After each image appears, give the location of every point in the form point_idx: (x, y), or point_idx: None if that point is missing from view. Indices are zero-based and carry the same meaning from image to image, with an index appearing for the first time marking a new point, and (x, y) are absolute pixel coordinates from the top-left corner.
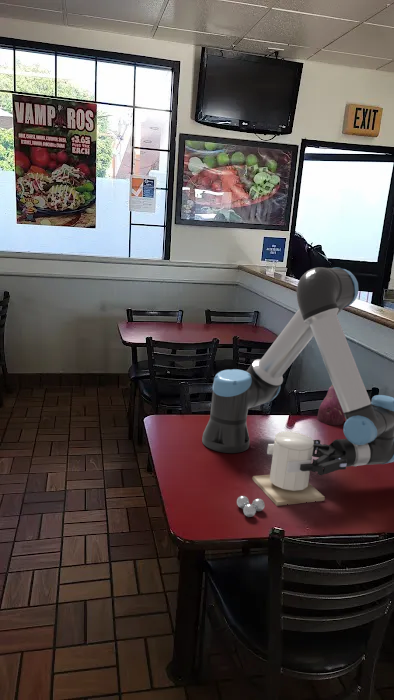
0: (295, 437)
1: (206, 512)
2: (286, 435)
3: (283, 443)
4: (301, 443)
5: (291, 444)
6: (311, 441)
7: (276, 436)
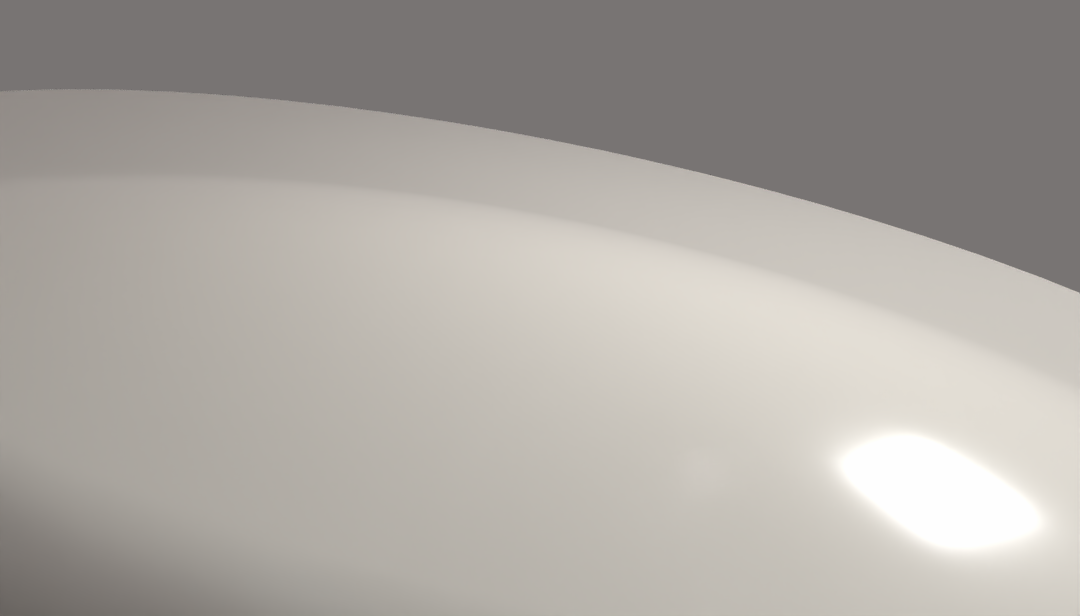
0: (741, 291)
1: None
2: (868, 262)
3: (369, 111)
4: (178, 167)
5: (253, 113)
6: (125, 383)
7: (752, 190)
